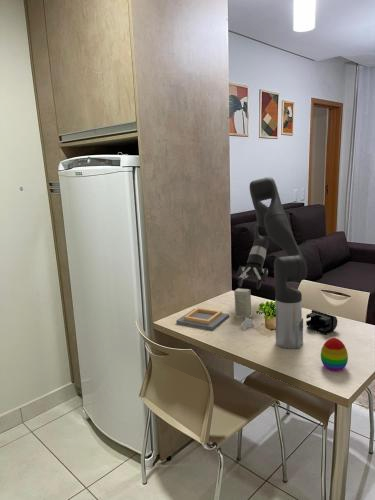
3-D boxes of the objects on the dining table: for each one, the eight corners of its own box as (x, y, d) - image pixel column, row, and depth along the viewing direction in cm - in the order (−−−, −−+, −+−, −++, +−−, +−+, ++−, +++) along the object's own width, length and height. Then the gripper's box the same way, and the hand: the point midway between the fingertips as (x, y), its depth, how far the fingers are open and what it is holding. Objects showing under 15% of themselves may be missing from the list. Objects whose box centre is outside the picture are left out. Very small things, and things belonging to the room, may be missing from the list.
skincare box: (251, 315, 170) (251, 289, 168) (248, 318, 166) (247, 292, 164) (238, 313, 173) (238, 287, 171) (234, 316, 170) (233, 290, 167)
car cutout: (248, 324, 162) (248, 314, 161) (259, 328, 156) (258, 318, 155) (220, 333, 154) (220, 323, 153) (230, 338, 148) (230, 328, 148)
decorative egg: (326, 358, 128) (326, 331, 126) (351, 365, 123) (352, 337, 121) (316, 368, 122) (316, 339, 120) (342, 376, 117) (343, 346, 115)
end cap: (337, 330, 150) (338, 314, 148) (326, 335, 146) (327, 319, 144) (315, 323, 158) (316, 308, 156) (305, 328, 154) (305, 312, 152)
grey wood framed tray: (229, 317, 169) (229, 310, 169) (213, 330, 156) (212, 323, 155) (194, 311, 178) (194, 305, 178) (176, 323, 165) (176, 317, 164)
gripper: (240, 252, 181) (231, 281, 174) (269, 254, 174) (261, 284, 166) (245, 260, 187) (236, 289, 179) (273, 262, 179) (265, 292, 172)
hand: (248, 287), depth 173 cm, fingers open, 8 cm apart
